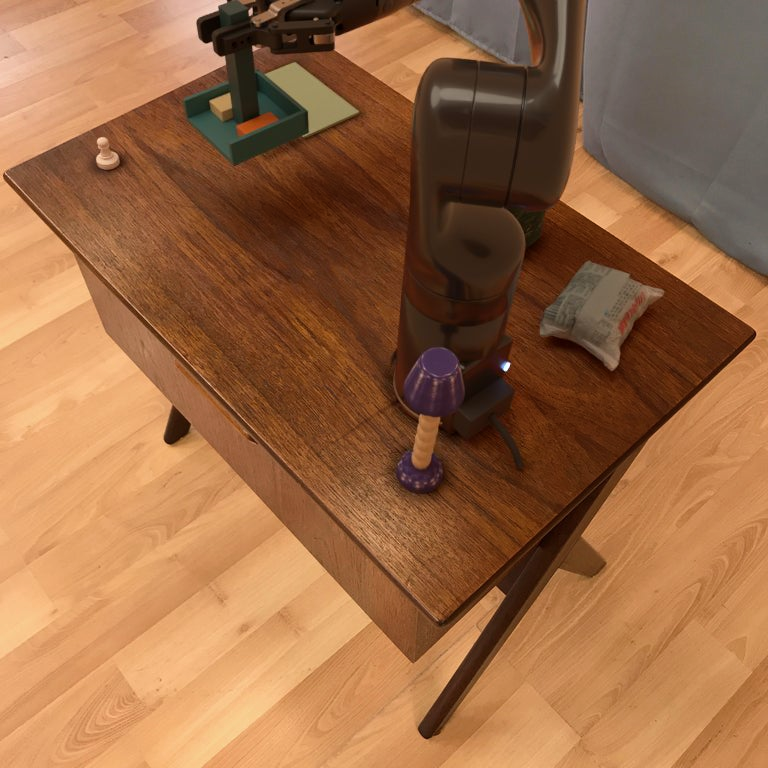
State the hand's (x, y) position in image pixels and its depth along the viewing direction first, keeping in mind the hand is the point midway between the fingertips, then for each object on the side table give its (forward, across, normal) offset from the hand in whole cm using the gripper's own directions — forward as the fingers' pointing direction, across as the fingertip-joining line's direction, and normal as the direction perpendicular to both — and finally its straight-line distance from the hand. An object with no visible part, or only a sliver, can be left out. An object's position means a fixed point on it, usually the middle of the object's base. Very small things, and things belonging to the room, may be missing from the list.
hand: (207, 38), depth 72 cm
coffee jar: (-22, +19, +22) cm, 37 cm away
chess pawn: (+7, -17, +22) cm, 29 cm away
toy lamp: (+5, +38, +22) cm, 44 cm away
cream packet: (-3, -3, +10) cm, 11 cm away
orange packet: (-3, +2, +10) cm, 11 cm away
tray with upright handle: (-3, 0, +11) cm, 11 cm away
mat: (-16, -15, +22) cm, 31 cm away
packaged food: (-21, +35, +22) cm, 47 cm away
